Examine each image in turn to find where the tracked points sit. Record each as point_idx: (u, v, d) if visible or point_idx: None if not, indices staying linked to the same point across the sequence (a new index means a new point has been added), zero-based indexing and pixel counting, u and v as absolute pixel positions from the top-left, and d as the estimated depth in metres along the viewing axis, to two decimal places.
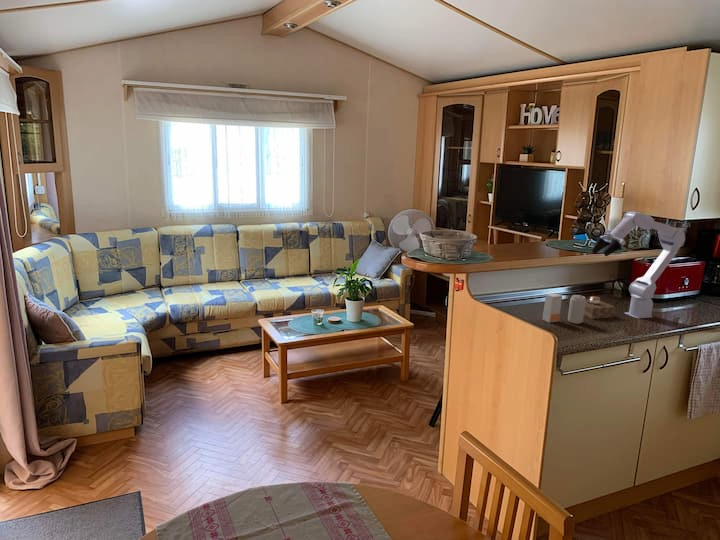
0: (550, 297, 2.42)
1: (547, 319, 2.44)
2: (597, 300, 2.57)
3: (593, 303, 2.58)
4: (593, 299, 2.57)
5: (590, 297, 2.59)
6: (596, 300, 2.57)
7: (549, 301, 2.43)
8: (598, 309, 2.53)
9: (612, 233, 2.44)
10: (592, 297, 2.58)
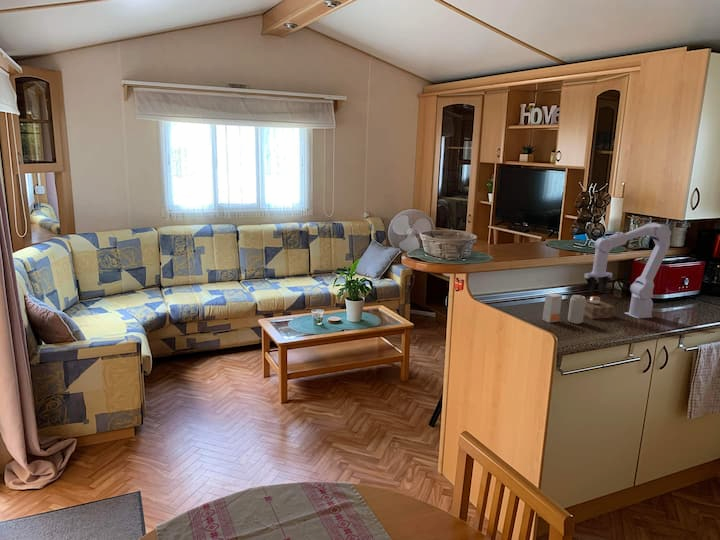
0: (550, 297, 2.42)
1: (547, 319, 2.44)
2: (597, 300, 2.57)
3: (593, 303, 2.58)
4: (593, 299, 2.57)
5: (590, 297, 2.59)
6: (596, 300, 2.57)
7: (549, 301, 2.43)
8: (598, 309, 2.53)
9: None
10: (592, 297, 2.58)
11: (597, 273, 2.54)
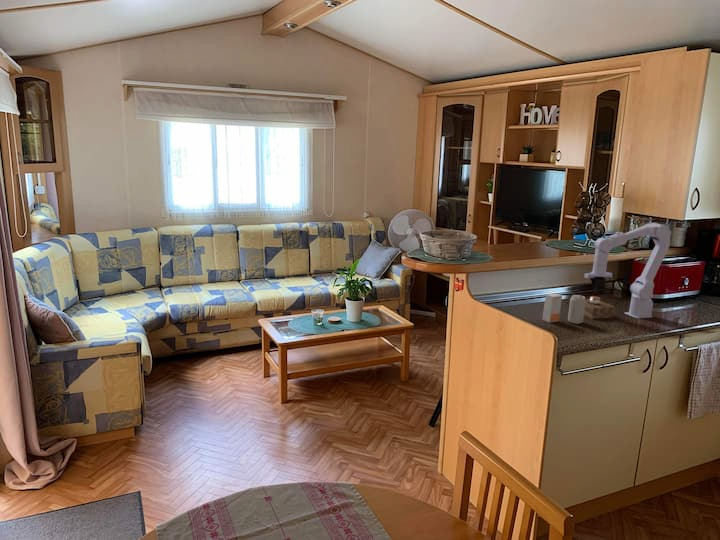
0: (550, 297, 2.42)
1: (547, 319, 2.44)
2: (597, 300, 2.57)
3: (593, 303, 2.58)
4: (593, 299, 2.57)
5: (590, 297, 2.59)
6: (596, 300, 2.57)
7: (549, 301, 2.43)
8: (598, 309, 2.53)
9: None
10: (592, 297, 2.58)
11: (597, 273, 2.54)
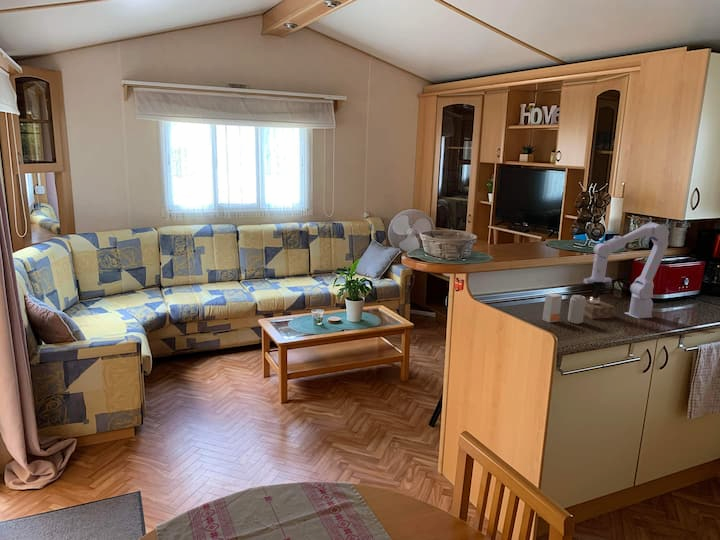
0: (550, 297, 2.42)
1: (547, 319, 2.44)
2: (597, 300, 2.57)
3: (593, 303, 2.58)
4: (593, 299, 2.57)
5: (590, 297, 2.59)
6: (596, 300, 2.57)
7: (549, 301, 2.43)
8: (598, 309, 2.53)
9: None
10: (592, 297, 2.59)
11: (596, 278, 2.54)
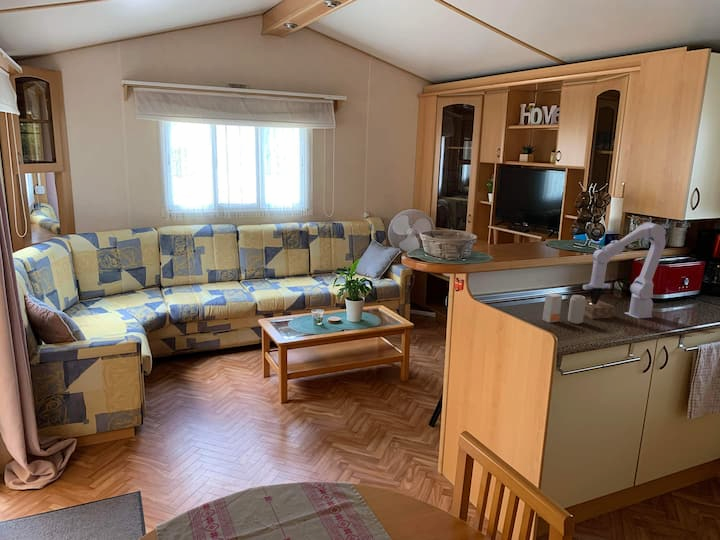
0: (550, 297, 2.42)
1: (547, 319, 2.44)
2: None
3: None
4: None
5: (589, 303, 2.59)
6: None
7: (549, 301, 2.43)
8: (598, 309, 2.53)
9: None
10: (591, 303, 2.59)
11: (595, 284, 2.55)
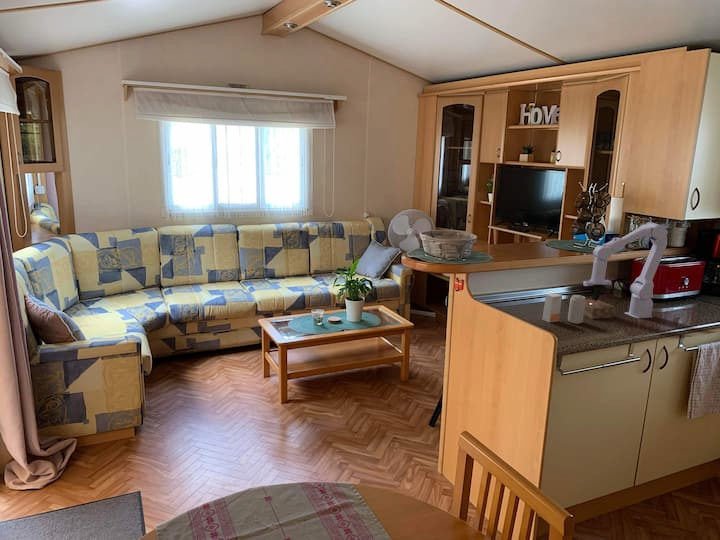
0: (550, 297, 2.42)
1: (547, 319, 2.44)
2: None
3: None
4: None
5: (589, 303, 2.59)
6: None
7: (549, 301, 2.43)
8: (598, 309, 2.53)
9: None
10: (591, 303, 2.59)
11: (596, 281, 2.55)
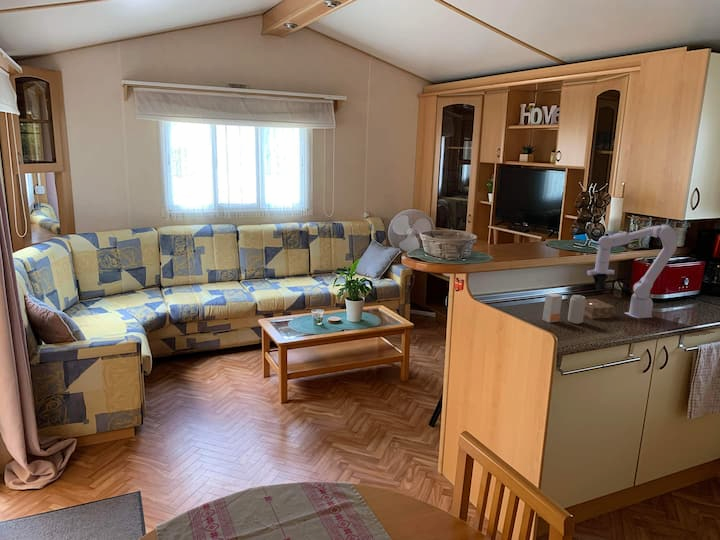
0: (550, 297, 2.42)
1: (547, 319, 2.44)
2: None
3: None
4: None
5: (589, 303, 2.59)
6: None
7: (549, 301, 2.43)
8: (598, 309, 2.53)
9: None
10: (591, 303, 2.59)
11: (599, 270, 2.60)
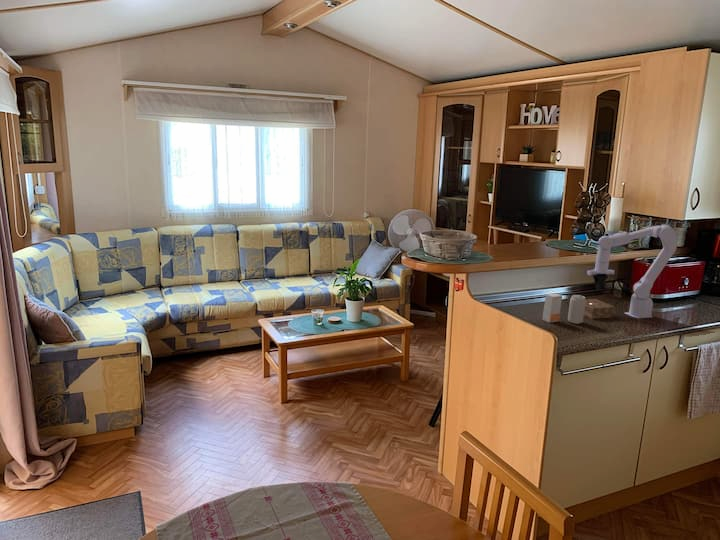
0: (550, 297, 2.42)
1: (547, 319, 2.44)
2: None
3: None
4: None
5: (589, 303, 2.59)
6: None
7: (549, 301, 2.43)
8: (598, 309, 2.53)
9: None
10: (591, 303, 2.59)
11: (599, 270, 2.60)
